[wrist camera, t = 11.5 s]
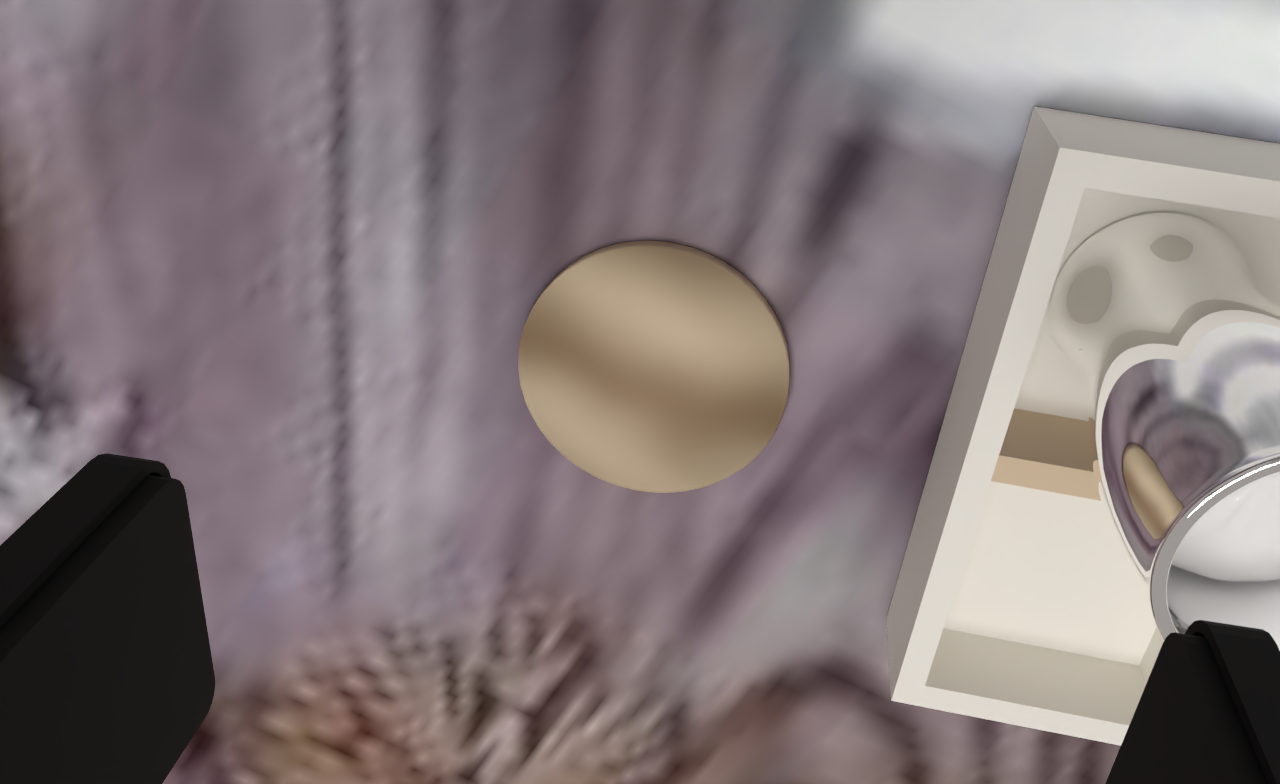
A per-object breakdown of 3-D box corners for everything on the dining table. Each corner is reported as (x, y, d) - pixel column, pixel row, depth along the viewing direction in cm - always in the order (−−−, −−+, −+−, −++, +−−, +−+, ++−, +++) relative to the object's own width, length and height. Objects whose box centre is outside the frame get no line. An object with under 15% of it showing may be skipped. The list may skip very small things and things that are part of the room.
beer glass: (1152, 152, 34) (1344, 374, 21) (1314, 285, 35) (1590, 574, 22) (989, 313, 38) (1069, 593, 25) (1142, 431, 39) (1296, 757, 26)
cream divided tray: (1033, 106, 35) (1060, 147, 31) (1377, 158, 35) (1450, 208, 30) (886, 619, 46) (891, 700, 41) (1149, 669, 45) (1181, 757, 41)
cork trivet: (532, 219, 40) (527, 227, 39) (813, 266, 39) (813, 274, 38) (515, 456, 45) (510, 467, 44) (764, 502, 44) (763, 513, 43)
